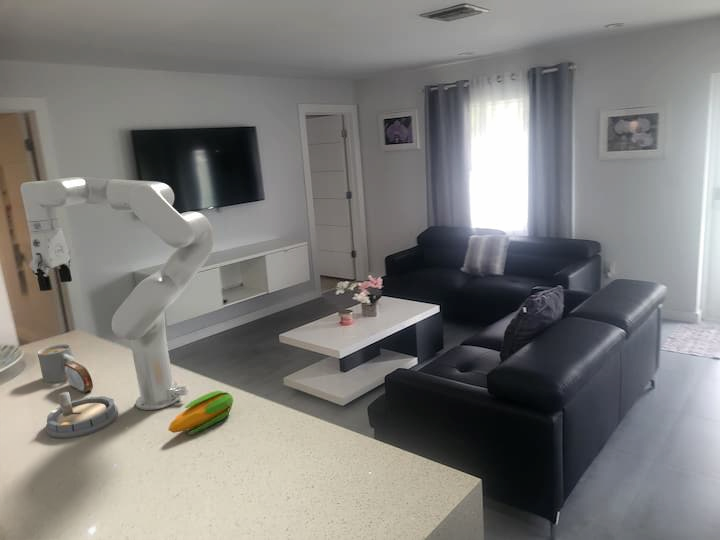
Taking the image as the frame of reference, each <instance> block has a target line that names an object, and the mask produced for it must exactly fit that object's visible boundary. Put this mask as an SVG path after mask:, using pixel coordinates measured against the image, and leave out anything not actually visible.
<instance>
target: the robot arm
mask: <svg viewBox="0 0 720 540" xmlns="http://www.w3.org/2000/svg"><path fill="white" fill-rule="evenodd" d="M20 193H21V197H22V202H23V203H22V204H23V208H24V212H25V216H26V220H27V226H28V231H29V234H30V237H29V238H30V248H31V255H32V259H31V261H30V262H29V267H30V268H31V270H32V273H33V274H34V275H35V277H36V278H37V283H38V287H39V291H40V292H43V291H45V292H47V291H52V290H53V286H52V282H51V281H52V280H51V277H50V275H49V272H50V268H51V269H54V268H57V267H58V269H57V271H58V275H59V280H60V283H69V282H72V281H73V278H72V274H71V269H70V268H71V264H70V263H71V251H70V250H69V248H68V245H67V241H66V237H65V235H64V232H63V230H62V228H61V225H60V221H59V216H58V214H59V213H58V210H57V208H65V207H69V206H70V207H71V206H75V205H80V204H85V205H88V204H89V205H91V204H92V205H101V206H102V205H104V206H108V207H109V208H110V209H111V210H112V211H114V212H115V211H116V212H130V213H134V214H135V216H136V217H137V218H138V219H139V220H140V221H141V222H142V223H143V224H144V225H146V227H147V228H149V229H150V230H151V231H152V233H154V234H155V235H156V236H157V237H158V238H159V239H160V240H162V241H163V242H164V243H165V244H166V245H168V246H170V247H172V248H175V249H176V250H174V252H173V253H172V254H171V255H170V256H169V257H168V259H167V260H166V261H165V263H164V264H163V265H162V266H161V267H160V269H158V270H157V271H156V272H154V273H153V274H151V275H150V276H149V275H148V277H146V278H144V279H143V280H141V281H140V282H139V283H138V284H137V285H136V286H135V287H134V288H133V290H131V292H130V294H128V295H127V297H126V299H125V300H124V301H123V302H122V303H121V304H120V306H119V307H118V308H117V310H116V311H115V313H114V314H113V315H112V317H111V318H112V319H111V329H112V332H113V334H114V335H115V336H116V337H117V338H118V339H120V340H122V341H125V342H126V341H127V342H131V343H130V344H131V351H132V357H133V358H132V359H133V363H134V368H135V373H136V380H137V385H138V392H139V397H137V399H136V400H135V405H136V408H137V409H139V410H142V411H153V410H154V411H155V410H159V409H164V408H166V407H169V406H171V405H174V404H176V403H177V402H178V401H179V400H180V399H181V396H187V395H188V392H189V391H188V388H187V386H186V385H182V386H179V385H178V382H177V381H174V379H173V373H172V366H171V360H170V355H169V348H168V347H169V346H168V341H167V333H166V313H165V312H166V311H165V310H166V309H167V308H168V307H170V306H171V305H172V304H173V303H175V302H176V301H177V300H178V299H179V297H180V296H181V295H182V294H183V292H184V290H185V289H186V288H187V287H188V286H189V284H190V283H191V281H192V280H193V279H194V278H195V276H196V275H197V274H198V273H199V271H200V270H201V269H202V267H203V266H204V265H205V263H206V262H207V261H208V259H209V256H210V255H211V253H212V251H213V247H214V243H215V242H214V241H215V237H214V231H213V227H212V225H211V223H210V221H209V219H208V218H207V217H206V216H205V215H204V214H203V213H200V212H198V211H186V212H182V213H180V212H178V211H177V210H176V209H175V207H173V205H174V202H175V193H174V191H173V189H172V187H171V186H169V185H168V184H166V183H164V182H161V181H153V180H152V181H150V180H131V179H129V180H128V179H118V178H115V179H113V178H111V179H110V178H98V177H82V176H76V177H74V176H73V177H63V178H56V179H55V178H54V179H50V180H37V181H36V180H35V181H28V182H23V183H22V184H21V185H20Z"/></svg>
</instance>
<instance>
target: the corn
mask: <svg viewBox="0 0 720 540" xmlns="http://www.w3.org/2000/svg"><path fill="white" fill-rule="evenodd" d="M233 402H234V398H233V395H232V394H231V393H228V392H227V391H222V390H216V391H212V392H209V393H207V394H204V395H202V396H200V397H197V398H196V399H194V400H192V401H190V402H189V403H188V404H187V405H186V406H184V408H185V410H184V411H181V413H180V414H178V415H177V416H176V417H174V419H173V420H172V421H171V422H170V424H169V427H168V429H167V430H168V431H169V432H171V433H174V434H175V433H180V432H186V431H189V432H188V433H187V434H186V435H187V436H190V435H193V434H196V433H199V432H201V431H203V430H205V429H207V428H208V427H211V426H212V425H214V424H216V423H218V422H219V421H221V420H224V419H225V418H226V417H227V416H228V415H229V413H230V411H231V410H232V407H233ZM190 430H191V431H190Z"/></svg>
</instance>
